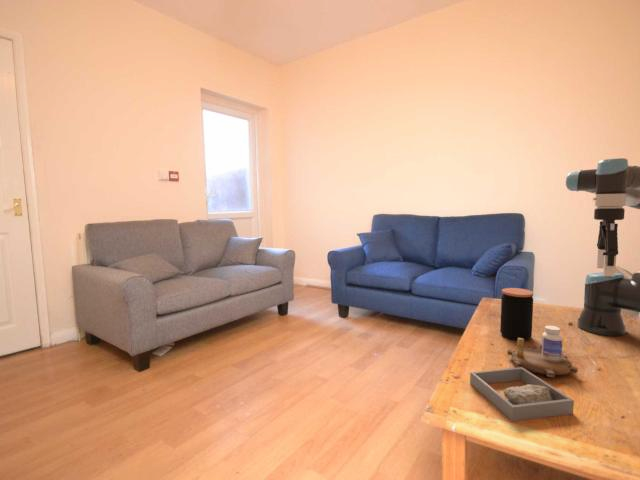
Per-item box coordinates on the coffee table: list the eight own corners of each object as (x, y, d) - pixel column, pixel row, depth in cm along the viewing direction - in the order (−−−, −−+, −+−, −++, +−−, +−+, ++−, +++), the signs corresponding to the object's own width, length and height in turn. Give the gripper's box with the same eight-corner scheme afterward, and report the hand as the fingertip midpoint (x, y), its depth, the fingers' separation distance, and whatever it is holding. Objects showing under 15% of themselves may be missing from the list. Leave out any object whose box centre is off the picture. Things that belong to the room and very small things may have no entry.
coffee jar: (529, 333, 137) (531, 289, 135) (533, 343, 127) (535, 296, 125) (499, 329, 141) (501, 286, 139) (500, 339, 131) (502, 293, 129)
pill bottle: (565, 361, 106) (566, 331, 105) (545, 360, 108) (547, 330, 107) (556, 354, 112) (558, 325, 111) (538, 352, 113) (539, 324, 112)
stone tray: (521, 378, 102) (522, 367, 102) (573, 413, 85) (573, 400, 85) (470, 383, 100) (470, 372, 100) (512, 421, 83) (512, 407, 82)
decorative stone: (546, 424, 81) (547, 404, 81) (498, 405, 89) (498, 387, 89) (560, 403, 90) (561, 385, 89) (515, 388, 98) (515, 371, 97)
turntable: (503, 347, 120) (504, 327, 119) (560, 352, 115) (561, 332, 114) (517, 373, 102) (518, 350, 102) (585, 380, 97) (587, 356, 97)
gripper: (589, 206, 124) (586, 264, 126) (600, 208, 103) (596, 278, 105) (616, 206, 120) (612, 266, 122) (634, 208, 99) (629, 280, 101)
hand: (605, 272), depth 114 cm, fingers open, 13 cm apart
